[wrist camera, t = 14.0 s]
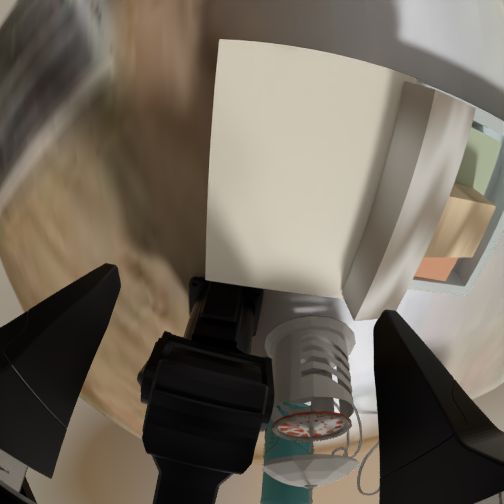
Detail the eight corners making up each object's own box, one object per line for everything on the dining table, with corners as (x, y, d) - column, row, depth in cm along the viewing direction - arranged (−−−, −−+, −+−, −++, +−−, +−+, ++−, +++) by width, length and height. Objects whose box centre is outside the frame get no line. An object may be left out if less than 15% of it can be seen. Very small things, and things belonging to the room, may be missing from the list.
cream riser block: (340, 260, 24) (348, 299, 20) (217, 243, 24) (205, 279, 20) (389, 73, 15) (417, 78, 12) (233, 44, 15) (219, 39, 12)
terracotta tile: (400, 273, 21) (392, 254, 23) (445, 281, 21) (434, 262, 23) (424, 222, 18) (412, 205, 20) (470, 234, 18) (456, 218, 20)
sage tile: (435, 183, 16) (420, 169, 18) (481, 199, 16) (465, 185, 18) (455, 119, 14) (437, 111, 16) (502, 143, 14) (483, 132, 16)
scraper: (341, 293, 20) (426, 288, 21) (354, 321, 18) (441, 310, 19) (404, 81, 12) (493, 121, 13) (435, 89, 10) (520, 134, 11)
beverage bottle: (259, 396, 38) (244, 533, 22) (304, 387, 36) (300, 535, 20) (279, 413, 41) (269, 535, 25) (320, 405, 39) (319, 534, 23)
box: (457, 278, 24) (467, 296, 22) (351, 262, 24) (356, 282, 22) (517, 131, 15) (535, 141, 13) (403, 78, 15) (418, 81, 13)
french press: (310, 300, 27) (306, 602, 7) (382, 348, 30) (404, 569, 10) (245, 347, 32) (211, 579, 12) (318, 383, 35) (314, 573, 15)
